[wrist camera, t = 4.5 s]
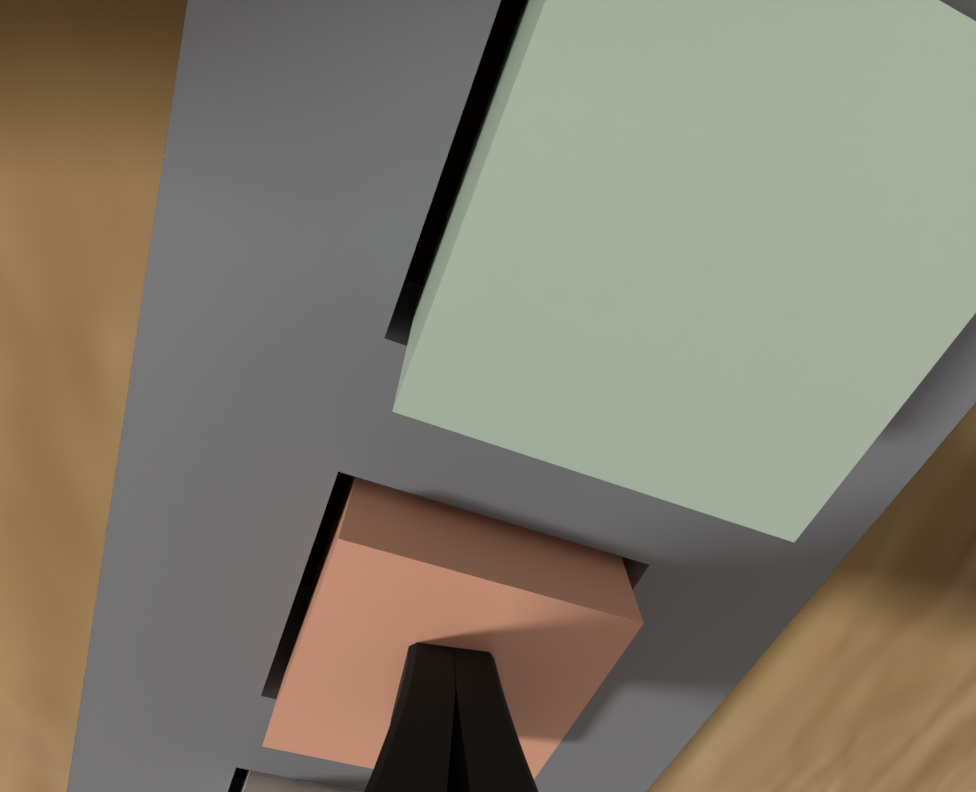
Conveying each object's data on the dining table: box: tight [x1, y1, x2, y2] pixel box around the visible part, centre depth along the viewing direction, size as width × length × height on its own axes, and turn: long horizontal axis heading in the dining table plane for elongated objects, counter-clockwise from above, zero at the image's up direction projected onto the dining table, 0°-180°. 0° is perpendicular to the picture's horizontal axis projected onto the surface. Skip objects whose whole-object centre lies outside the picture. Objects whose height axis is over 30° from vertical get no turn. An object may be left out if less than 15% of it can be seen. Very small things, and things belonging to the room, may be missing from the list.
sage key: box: [392, 0, 976, 542], centre depth 7 cm, size 5×5×4 cm
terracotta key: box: [262, 475, 644, 779], centre depth 12 cm, size 5×5×4 cm
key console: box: [67, 0, 976, 792], centre depth 12 cm, size 12×26×3 cm, turn 158°
